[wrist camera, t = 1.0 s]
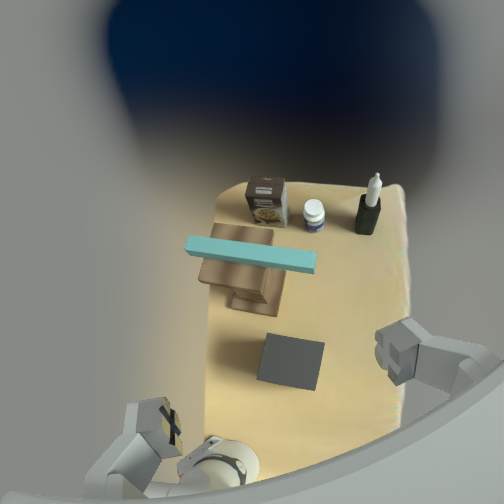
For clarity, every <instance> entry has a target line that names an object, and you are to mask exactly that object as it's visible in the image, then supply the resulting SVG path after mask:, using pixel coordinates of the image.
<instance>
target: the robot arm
mask: <svg viewBox="0 0 504 504" xmlns="http://www.w3.org/2000/svg"><path fill="white" fill-rule="evenodd" d="M375 340H376V341H377V342H378V343H377V345H376V347H375V356H376V360H377V362H378V364H379V365H380V367H381V368H382V369H384V370H387V371H388V377H389V378H390V379H391V381H392V382H393V383H394V384H395V386H398V385H400V384H402V383H404V382H406V381H408V380H411V379H413V378H414V379H416V380H418V381H421V382H423V383H426V384H428V385H431V386H433V387H435V388H438V389H440V390H443V391H445V392H448V393H450V397H449V400H447V401H445V402H444V403H442V404H441V405H439V406H437V407H436V408H434V409H432V410H431V411H429V412H427V413H426V414H424V415H422V416H420V417H419V418H417V419H415V420H413V421H411V422H409V423H408V424H406V425H404V426H402V427H400V428H398V429H396V430H394V431H392V432H390V433H388V434H386V435H384V436H382V437H380V438H378V439H376V440H374V441H371V442H369V443H367V444H365V445H362V446H360V447H358V448H356V449H353V450H351V451H348V452H346V453H344V454H341V455H338V456H336V457H333V458H331V459H328V460H325V461H323V462H320V463H317V464H314V465H311V466H308V467H305V468H302V469H299V470H296V471H293V472H290V473H286V474H283V475H280V476H276V477H272V478H269V479H265V480H261V481H257V482H255V480H256V478H257V476H258V474H259V469H260V465H259V460H258V458H257V456H256V454H255V453H254V452H253V450H252V449H251V448H249V447H248V446H247V445H245V444H243V443H240V442H237V441H231V440H224V439H223V438H221V437H218V436H212V437H211V438H210V439H208V440H207V441H206V442H204V443H203V444H202V445H201V446H199V447H198V448H197V449H195V450H194V451H193V452H192V453H190V454H189V455H188V456H186V457H185V458H184V459H182V460H181V461H180V462H178V464H177V471H178V475H179V477H180V482H179V484H171V483H162V482H153V481H151V479H152V477H153V475H154V474H155V472H156V470H157V468H158V466H159V465H160V463H161V461H162V459H165V458H171V457H176V456H181V455H182V441H181V440H180V439H179V435H180V434H181V425H180V421H179V418H178V415H177V414H176V412H175V410H173V409H171V408H170V402H169V401H168V399H167V398H166V397H159V398H153V399H147V400H141V401H136V402H129V403H128V404H127V406H126V413H125V420H124V427H123V434H122V435H119V436H118V437H117V438H116V439H115V441H114V442H113V443H112V444H111V446H110V447H109V448H108V449H107V450H106V451H105V452H104V454H103V455H102V456H101V457H100V458H99V459H98V461H97V462H96V463H95V464H94V466H93V467H92V468H91V469H90V470H89V471H88V472H87V473H86V479H85V485H84V492H83V499H76V498H63V497H54V496H45V495H37V494H31V493H25V492H19V491H10V492H8V493H7V494H6V495H4V496H3V497H2V498H1V499H0V504H504V360H503V361H502V360H501V359H499V358H498V357H497V356H496V355H495V354H494V353H492V352H491V351H490V350H489V349H488V348H486V347H485V346H484V345H479V344H474V343H469V342H464V341H459V340H455V339H450V338H446V337H441V336H437V335H435V336H433V337H432V336H431V335H430V334H429V333H428V332H427V331H426V330H425V329H423V328H422V327H421V326H420V325H419V324H418V323H417V322H416V321H414V320H413V319H412V318H411V317H406V318H404V319H401V320H399V321H398V322H395V323H393V324H391V325H388V326H386V327H384V328H382V329H379V330H377V331H376V333H375ZM211 441H212V442H213V444H211ZM190 457H191V458H190Z"/></svg>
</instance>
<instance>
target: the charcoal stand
mask: <svg viewBox="0 0 504 504" xmlns="http://www.w3.org/2000/svg"><path fill="white" fill-rule="evenodd" d="M324 345H325V343H323V342H316V341H310V340H304V339H298V338H293V337H287V336H281V335H276V334H271V333H267V336H266V340H265V345H264V349H263V354H262V358H261V362H260V367H259V371H258V375H257V380H261V381H265V382H270V383H275V384H280V385H285V386H290V387H295V388H301V389H306V390H312V391H315V389H316V384H317V379H318V375H319V370H320V365H321V360H322V355H323V350H324Z"/></svg>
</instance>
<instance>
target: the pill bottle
mask: <svg viewBox="0 0 504 504" xmlns="http://www.w3.org/2000/svg"><path fill="white" fill-rule="evenodd" d="M303 217H304V225H305V228H306V229H307V230H308V231H309V232H311V233H317V232H320V231H321V230H322V229H323V228H324V224H325V212H324V208H323V206H322V203H321V202H320V201H319V200H317V199H311V200H308V201H307V202H306V203H305V206H304V210H303Z"/></svg>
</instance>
